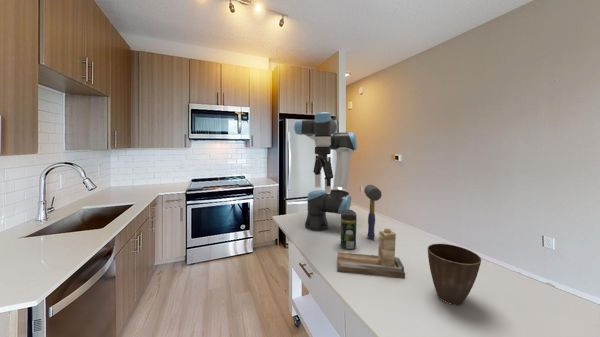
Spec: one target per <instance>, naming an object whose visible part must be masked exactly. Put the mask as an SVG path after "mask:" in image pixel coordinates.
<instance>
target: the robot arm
mask: <svg viewBox="0 0 600 337" xmlns="http://www.w3.org/2000/svg"><path fill="white" fill-rule="evenodd" d="M293 128H294V129H293V130H294V133H295V134H296V135H299V136H303V135H304V136H306V137H308V138H310V139H311V140H313V141H314V145H315V146H314V154H315V158H314V159H315V160H314V166H313V170H312V171H313V172H312V173H313V174H314V187H315V189H316V188H321V179H322V178H321V174H322V172H321V171H322V170H323V173H324V176H325V177H324V190H321V189H320V190H313V191H309V192H308V194H307V199H306V200H307V214H306V218H305V221H304V228H305V229H306V230H308V231H309V230H310V231H313V232H314V231H316V232H319V231H320V232H321V231H322V232H323V231H325V230H328V228H329V221H328V218H327V213H328V214H330V213H331V214H338V215H341V212H342V211H344V210H351V205H352V196H351V195H350V192H349V191H348V183H349V176H350V175H349V174H350V165H351V158H352V155H353V154H354V152H355V151H357V149H358V142H357V136H356V133H355V132H351V131H346V132H337V131H338V129H339V125H338V122H336V120H334V119H332V114H331V113H330V112H328V111H324V112H323V111H321V112H316V113H315V115H314V119H300V120H296V121H295V122H294V127H293ZM331 150H333V151H335V152H336V154H337V157H336V162H335V163H336V164H335V172H334V174H333V169H332V168H333V167H332V161H331V160H332V158H331V156H328V155H331V153H332V152H331ZM332 179H334V180H333V184H332ZM332 185H333V186H332Z"/></svg>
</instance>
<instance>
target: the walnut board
mask: <svg viewBox="0 0 600 337" xmlns="http://www.w3.org/2000/svg"><path fill="white" fill-rule="evenodd" d="M337 272H340V273H350V274H358V275H359V274H360V275H369V276H381V277H390V278H401V279H405V277H406V273H405V267H404V265H403V263H402V261H401V259H400V257H397V256H395V261H394V266H393V267H392V266H381V265H380V264H379V263H378V255H371V254H362V253H360V254H359V253H350V252H349V253H348V252H337Z"/></svg>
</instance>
